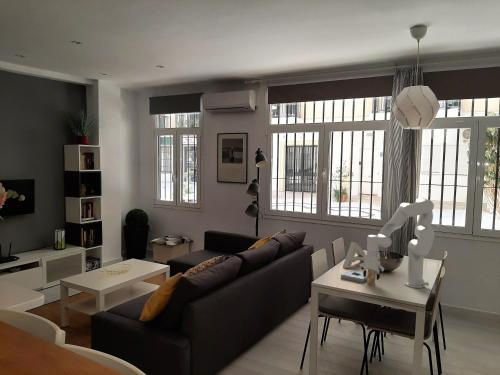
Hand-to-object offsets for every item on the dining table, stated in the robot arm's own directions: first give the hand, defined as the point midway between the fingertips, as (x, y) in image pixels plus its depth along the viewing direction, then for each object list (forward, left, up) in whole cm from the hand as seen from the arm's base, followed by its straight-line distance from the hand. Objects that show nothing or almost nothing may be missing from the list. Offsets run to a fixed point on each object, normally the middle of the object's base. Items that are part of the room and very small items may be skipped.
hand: (371, 277), depth 269 cm
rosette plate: (+13, -5, -4) cm, 15 cm away
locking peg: (0, 0, -4) cm, 4 cm away
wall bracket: (+28, -42, -5) cm, 50 cm away
